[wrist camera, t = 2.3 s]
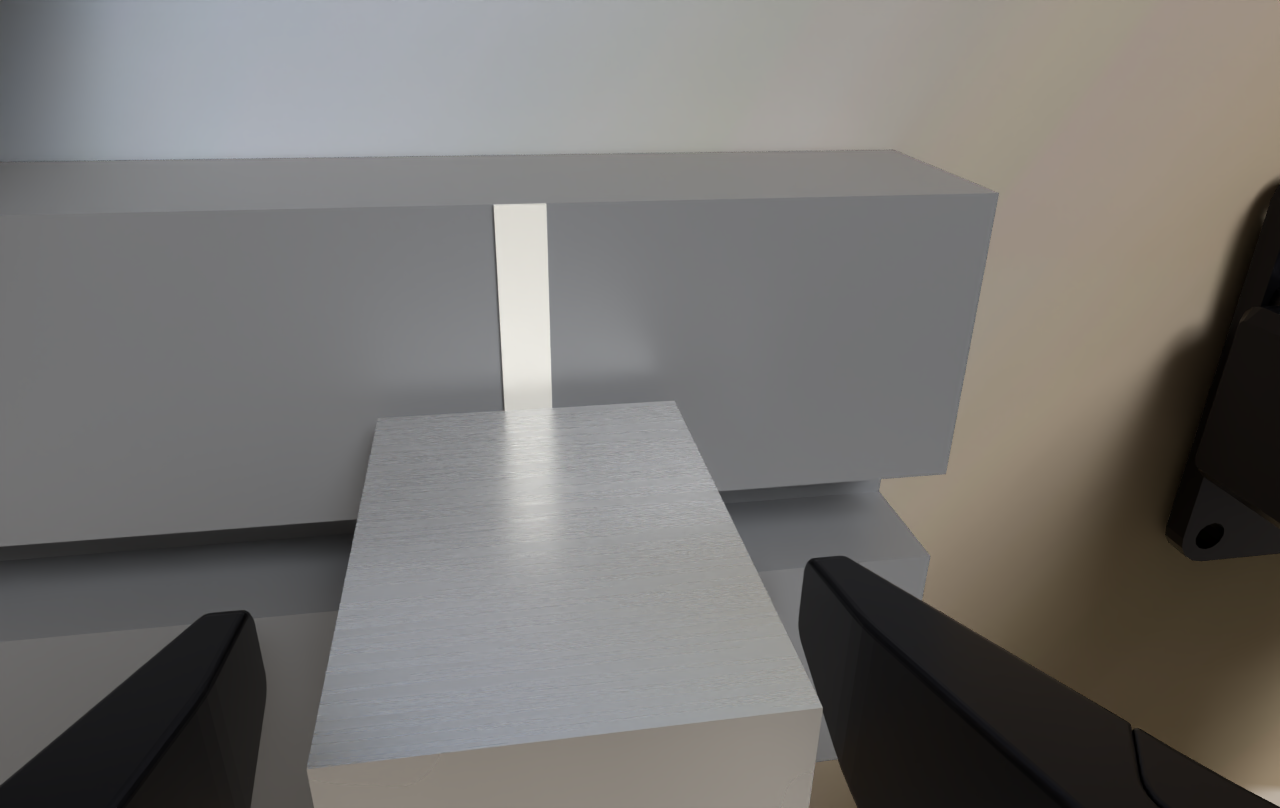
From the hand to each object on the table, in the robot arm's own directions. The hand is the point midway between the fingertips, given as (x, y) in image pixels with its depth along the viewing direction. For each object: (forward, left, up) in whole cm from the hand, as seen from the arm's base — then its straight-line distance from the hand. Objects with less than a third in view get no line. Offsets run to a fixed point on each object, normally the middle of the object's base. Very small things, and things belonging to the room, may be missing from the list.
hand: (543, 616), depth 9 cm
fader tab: (0, 0, -2) cm, 2 cm away
